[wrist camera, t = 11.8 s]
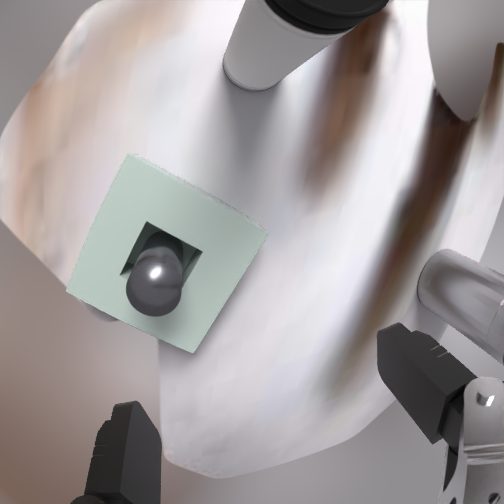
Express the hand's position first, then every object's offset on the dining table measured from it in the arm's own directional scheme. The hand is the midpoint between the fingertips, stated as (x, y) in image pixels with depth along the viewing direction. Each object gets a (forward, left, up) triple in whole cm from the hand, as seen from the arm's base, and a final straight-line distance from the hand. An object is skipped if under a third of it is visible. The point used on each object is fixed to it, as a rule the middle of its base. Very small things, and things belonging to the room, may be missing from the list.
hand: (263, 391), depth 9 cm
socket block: (+3, +4, -24) cm, 25 cm away
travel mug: (+5, -17, -24) cm, 30 cm away
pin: (+3, +4, -23) cm, 24 cm away
